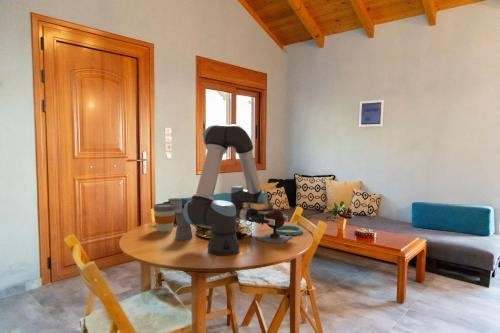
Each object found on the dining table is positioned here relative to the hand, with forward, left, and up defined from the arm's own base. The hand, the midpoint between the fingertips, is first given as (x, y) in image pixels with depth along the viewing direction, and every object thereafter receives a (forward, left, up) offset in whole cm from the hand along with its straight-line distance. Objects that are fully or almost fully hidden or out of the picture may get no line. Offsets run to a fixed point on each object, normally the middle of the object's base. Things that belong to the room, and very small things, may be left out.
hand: (281, 220), depth 176 cm
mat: (+1, +4, -10) cm, 11 cm away
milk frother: (-1, +75, -11) cm, 76 cm away
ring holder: (+18, +4, -10) cm, 21 cm away
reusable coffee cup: (-17, +67, -11) cm, 70 cm away
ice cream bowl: (+1, +4, -9) cm, 10 cm away
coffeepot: (-23, +46, -11) cm, 53 cm away
